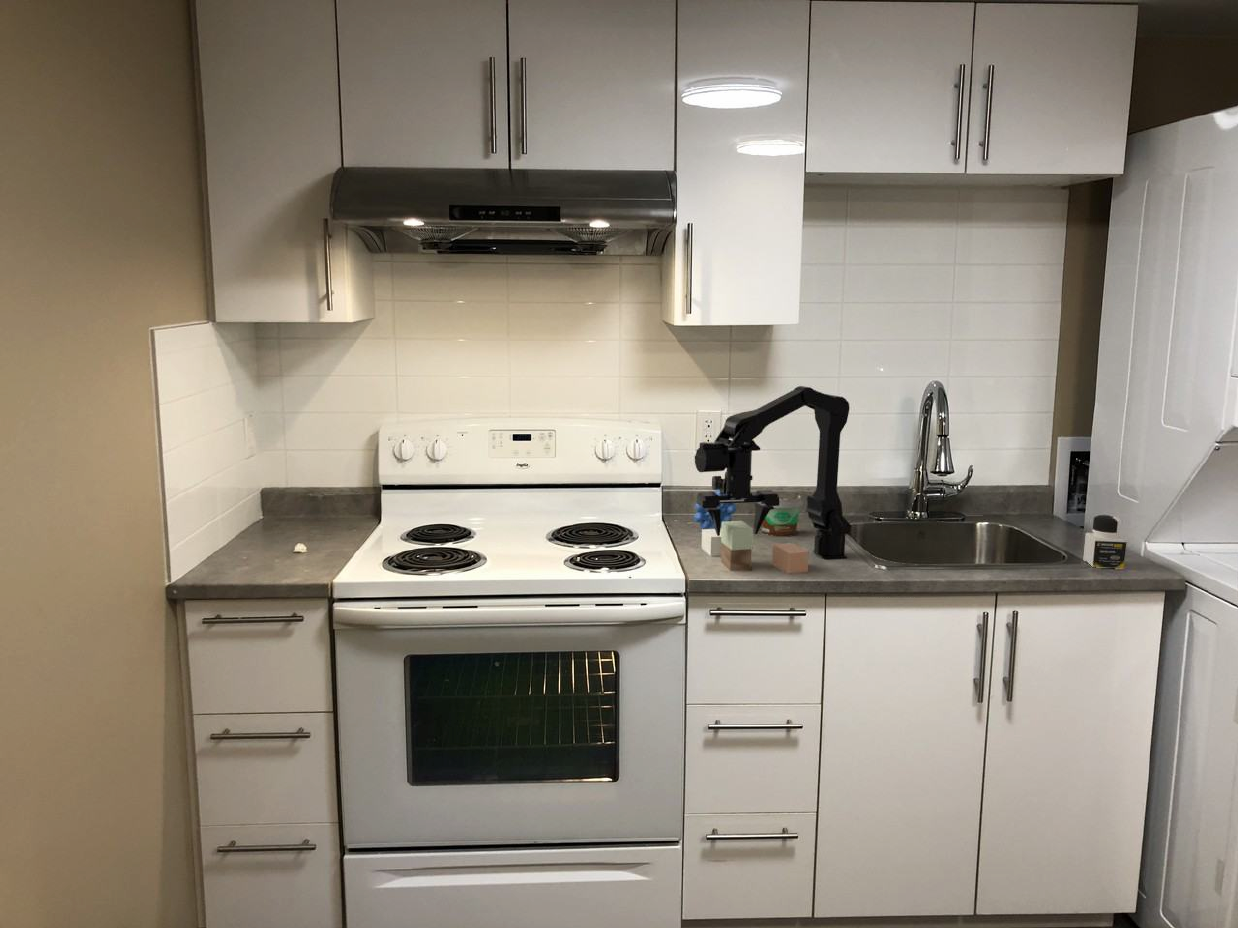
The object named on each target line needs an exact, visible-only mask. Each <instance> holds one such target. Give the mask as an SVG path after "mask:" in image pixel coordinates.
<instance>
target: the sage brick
mask: <svg viewBox="0 0 1238 928" xmlns="http://www.w3.org/2000/svg"><path fill="white" fill-rule="evenodd" d="M753 539H754V527H752V526H750V525H748V523H747V522H746V523H745V522H744V521H743V520H732V521H725V522H722V527H721V542H722V543H723V544H724V545H726V546H727V547H728V548H730V549H731V550H748V549H751V550H753V545H754V544H753V543H754V541H753Z"/></svg>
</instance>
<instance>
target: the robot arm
mask: <svg viewBox="0 0 1238 928" xmlns="http://www.w3.org/2000/svg"><path fill="white" fill-rule="evenodd" d="M802 407H807V408H810V409H812V410H814V411H813V412H814V419H815V422H816V425H817V427H818V429H819V442H818V443H819V444H818V458H817V460H818V461H817V476H816V478H817V479H816V489H815V491H814V492H813V495H807V497H806V503H807V504H806V505H807V506H806V508H805V509H806V510H805V512H807V516H808V519H810V521H811V522H812V526H813V528H815V529H816V535H815V536H814V545H813V546H814V549H813V554H815V555H816V556H819V557H820V558H821V559H842V558H845V559H846V558H848V555H847V554H846V553H845V551H846V550H845V549H846V548H845V547H846V535H850V531H851V529H852V525H851V524H850V522H849V521H848V520H847V519H846V518H845V517H844V514H843V503H842V500H841V498H840V496H839V494H838V477H839V465H840V463H839V460H840V446H841V444H840V443H841V434H842V431H843V429H844V427H845V426H846V425H847V422H848V418H849V413H850V408H851V407H850V402H849V401H848V400H847V399H846V398H845V397H843V396H839V395H834V394H829V393H828V394H827V393H824V392H820V391H818V390H816V389H814V388H812V387H808V386H804V385H803V386H802V385H800V386H799V385H798V386H796V387H795V388H794V389H793V390H791V391H789V392H787V393H785V394H783V395H781V396H779V397H778V398H776V399H774V400H772V401H770V402H768V403H766V404H764V405H762V406H760V407H758V408H756V409H753V410H747V411H743V412H739V413H736V414H733V415H730V416H728V417H727V418H726V419H725V423H724V424H723V425H724V426H723V428H722V430H721V431H720V432H719V433H718V435H717V437H716V438H715V440H714V442H705V441H704V442H703V441H701V442H699V448H697V450H696V453H695V455H694V465H695V468H696V470H697V471H698V472H699V473H712V472H723V471H725V470H726V471H725V472H724V473H725V474H724V477H723V478H722V476H721V475H713V476H712V477H711V489H712V490H713V491H712V492H708V491H701V492H700V491H699V492H698V494H697V495H696V503H697V504H698V505H699V506H701V507H702V508H704V509H705V510H707V511H708V512H709V514H710V516H711V518H712V521H713V524H714V527H715V531H716V534H717V536H720V512H721V510H720V509H719V508H718V506H719V505H720V504H721V503H732V504H741V503H742V504H743V503H744V504H745V503H749V504H750V503H754V508H755V509H754V510H755V512H754V513H755V514H754V522H753V535H754V534H755V535H757V534H758V533H759V531H760V529H761V528H762V523H763V521H764V519H765V517H766V516H767V514H768V513H769V511H770V510H773V509H774V507H773V506H779V500H780V498H781V497H780V496H779V494H778V493H777V492H775V491H773V490H771V489H765V490H764V489H761V490H760V489H759V490H756V492H755V494H753V493H752V492H751V491H752V490H751V485H752V484H751V483H752V481H753V479H754V477H753V475H752V458H753V452H755V451H756V452H757V451H760V450H761V446H759V445H758V444H757V442H755V440H754V439H756V438H757V437H758V436H759V435H761V434H762V433H763V431H764V430H765V428H766V427H768V426H769V425H771V424H772V423H774V422H777V421H779V420H780V419H783V418H784V417H786V416H788V415H789V414H792V413H793V412H795V411H797V410H799V409H801V408H802ZM716 490H719V491H720V494H725V495H721V496H718V495H717V494H716V493H715V492H714V491H716ZM730 498H732V499H730Z"/></svg>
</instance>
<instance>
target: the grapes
mask: <svg viewBox="0 0 1238 928" xmlns="http://www.w3.org/2000/svg"><path fill="white" fill-rule="evenodd" d="M714 491H715V492H714V493H716V494H717V495H718V496H721V495H726V494H720V491H719V490H714ZM707 492H713V491H711V490H708V491H707ZM730 499H732V498H730ZM718 508H719V509H720V510H721V512H720V529H721V527H722V522H725V521H733V517H732V515H734V514H736V512H737V510H738V506H737V504H736V503H721V504H720V505H719V506H718ZM694 509H695V510H696V511H697V512H695V514H694V515H693V521H694V522H695V523H700V524H699V528H700V530H701V531H702V529H715V527H714V524H713V521H712V518H711V516H710V514H709V512H708V511H707V510H705V509H704V508H702V507H701V506H699V505H698V504H697V502H696V503H695V505H694Z"/></svg>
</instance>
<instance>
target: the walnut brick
mask: <svg viewBox="0 0 1238 928" xmlns="http://www.w3.org/2000/svg"><path fill="white" fill-rule="evenodd" d="M752 550H753V549H748V550H731V549H730V548H728V547H727V546H726V545H724V544H723V543H722V554H721V556H720V558H721V560H720V561H721V563H722V564H723V565H724V566H725V567H726V568H727V569H728V570H729V571H731V572H732V571H735V572H737V571H751V569H752Z"/></svg>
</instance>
